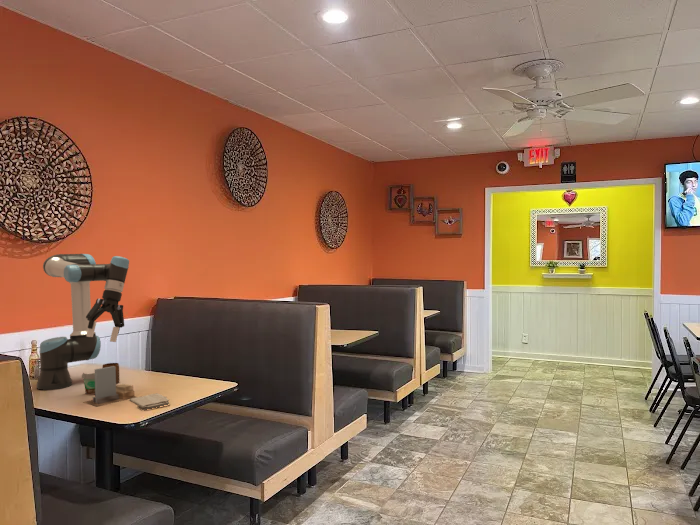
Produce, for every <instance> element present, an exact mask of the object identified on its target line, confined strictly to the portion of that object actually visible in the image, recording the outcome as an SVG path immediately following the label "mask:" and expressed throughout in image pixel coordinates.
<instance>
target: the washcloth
mask: <svg viewBox="0 0 700 525" xmlns="http://www.w3.org/2000/svg"><path fill="white" fill-rule="evenodd" d="M169 401H170V399H169V398H167V396H164V395H163V394H160V393H151V394H147V395H142V396H136V398H132V399H129V402H131V403H134V404H135V405H137V408H138V407H139V408H138V409H139V410H141V409H142V410H144V411H148V410H147V409H151V410H153V409H152V408H156V407H160V406H164V405H168V404H170V402H169ZM156 409H157V408H156ZM142 410H141V411H142Z"/></svg>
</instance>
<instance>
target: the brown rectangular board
mask: <svg viewBox="0 0 700 525" xmlns="http://www.w3.org/2000/svg"><path fill="white" fill-rule="evenodd" d="M136 397H137V396H135V395H134V397H131V398H126V399H121V398H119V394H116V395H112V396H107V397H103V398H99V399H97V403H96V402H95V396H93V397H92V400H88V401H84V402H82V403H84V404H86V405H89V406H92V407H95V408H97V407H102V406H107V405H111V404H114V403H119V402H123V401H127V400H130V399H132V398H136Z"/></svg>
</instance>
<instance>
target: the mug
mask: <svg viewBox="0 0 700 525" xmlns="http://www.w3.org/2000/svg"><path fill="white" fill-rule="evenodd" d="M111 366H115V368H116V384H118V383H120V364H119V362H108V363H103V364H102V367H101V368H105V367H111Z"/></svg>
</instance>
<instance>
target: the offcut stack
mask: <svg viewBox="0 0 700 525" xmlns="http://www.w3.org/2000/svg"><path fill="white" fill-rule="evenodd" d="M116 394H119V398H121V399H126V398H131V397H134V396H135V391H134V385H132V384H126V383H120V384H116Z"/></svg>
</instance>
